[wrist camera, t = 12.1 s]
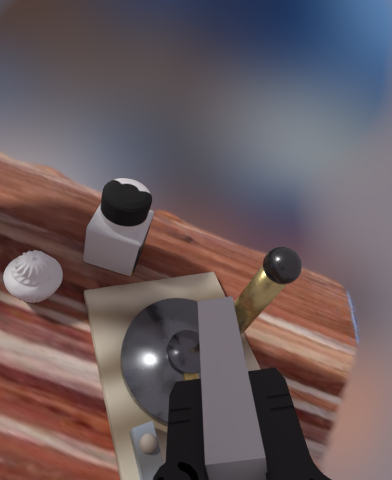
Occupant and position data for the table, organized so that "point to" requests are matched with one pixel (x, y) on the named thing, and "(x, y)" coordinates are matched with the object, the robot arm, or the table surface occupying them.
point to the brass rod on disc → (189, 335)
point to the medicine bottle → (119, 227)
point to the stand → (108, 360)
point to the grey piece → (33, 276)
